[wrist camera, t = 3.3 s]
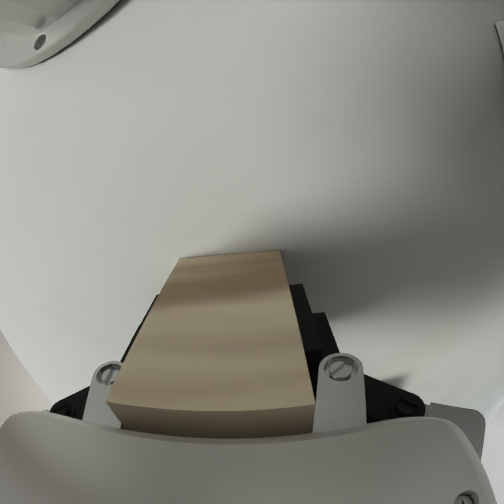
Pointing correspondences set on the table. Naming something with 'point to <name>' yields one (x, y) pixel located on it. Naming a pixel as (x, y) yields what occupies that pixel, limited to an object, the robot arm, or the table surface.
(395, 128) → the table surface
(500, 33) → the supplement box
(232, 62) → the table surface
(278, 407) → the birch block
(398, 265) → the table surface
